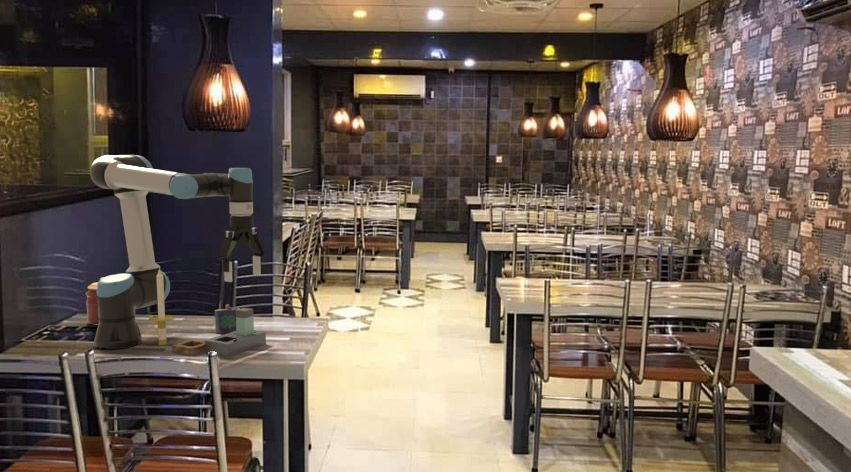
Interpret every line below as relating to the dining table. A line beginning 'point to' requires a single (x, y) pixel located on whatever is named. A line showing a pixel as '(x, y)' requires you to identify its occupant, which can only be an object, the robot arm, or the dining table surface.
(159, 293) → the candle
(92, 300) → the canister
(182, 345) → the square wooden tray
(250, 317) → the green square bottle
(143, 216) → the robot arm
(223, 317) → the flask
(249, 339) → the port panel
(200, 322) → the dining table surface
